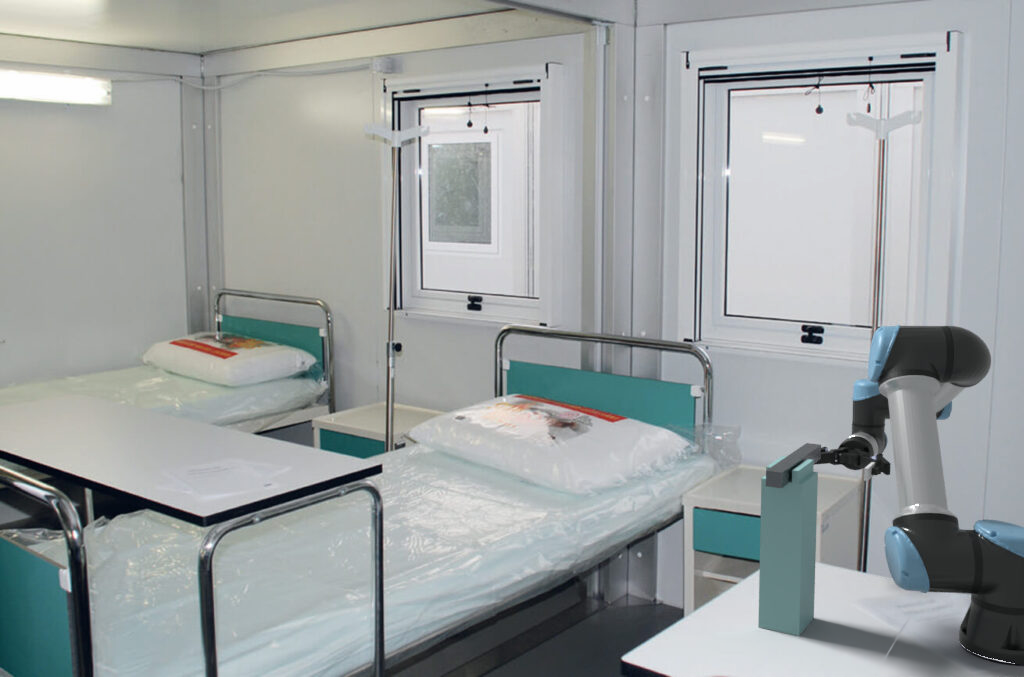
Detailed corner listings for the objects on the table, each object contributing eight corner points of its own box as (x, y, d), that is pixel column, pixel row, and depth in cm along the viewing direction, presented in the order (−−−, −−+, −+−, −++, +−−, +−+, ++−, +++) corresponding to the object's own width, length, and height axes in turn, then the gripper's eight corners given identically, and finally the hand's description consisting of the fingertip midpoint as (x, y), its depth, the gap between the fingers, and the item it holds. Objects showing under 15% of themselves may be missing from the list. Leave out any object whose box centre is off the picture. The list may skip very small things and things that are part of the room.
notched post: (774, 609, 204) (778, 455, 200) (813, 618, 199) (818, 460, 195) (758, 627, 195) (761, 466, 191) (798, 636, 191) (803, 471, 187)
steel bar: (806, 457, 208) (806, 443, 207) (820, 458, 206) (821, 444, 206) (765, 486, 186) (766, 470, 186) (781, 488, 184) (781, 472, 184)
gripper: (913, 474, 227) (893, 495, 210) (804, 460, 241) (776, 479, 223) (914, 441, 226) (894, 460, 209) (805, 429, 240) (777, 446, 222)
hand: (833, 470), depth 216 cm, fingers open, 13 cm apart
